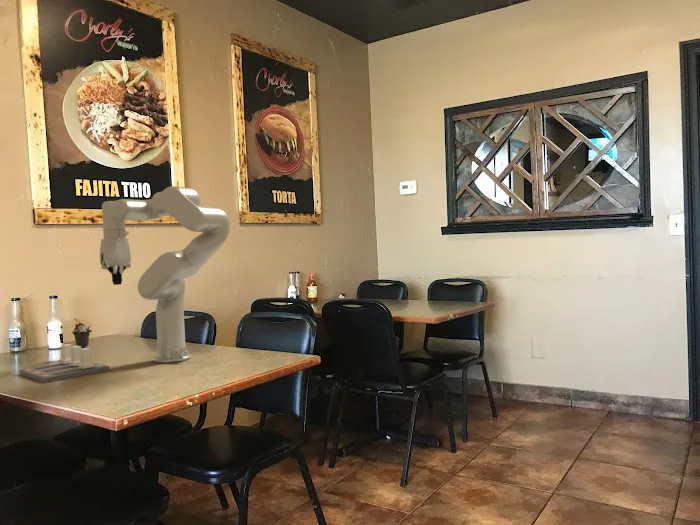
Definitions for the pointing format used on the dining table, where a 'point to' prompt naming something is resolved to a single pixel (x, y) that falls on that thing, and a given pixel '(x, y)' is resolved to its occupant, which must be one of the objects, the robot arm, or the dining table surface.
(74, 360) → the breaker mid
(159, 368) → the dining table surface
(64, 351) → the breaker far
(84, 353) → the breaker near
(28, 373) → the console
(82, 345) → the sundae
